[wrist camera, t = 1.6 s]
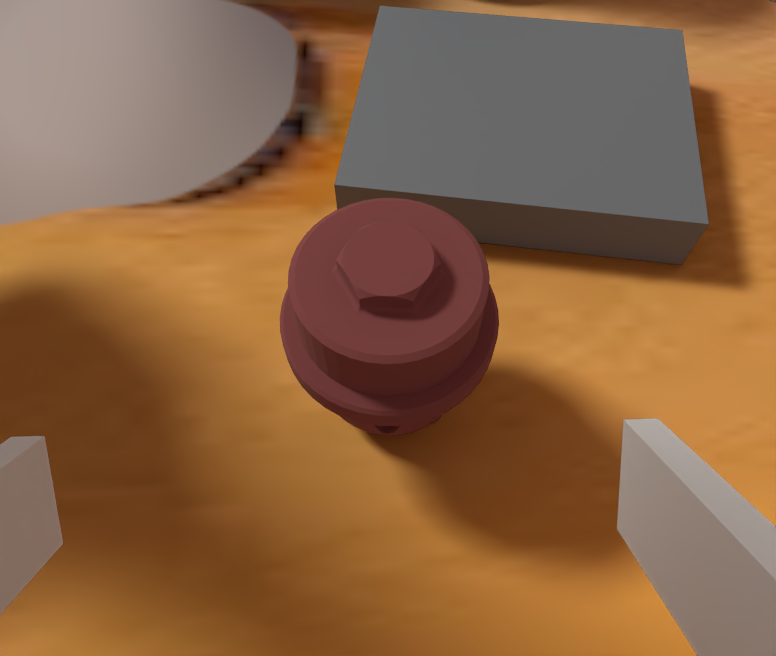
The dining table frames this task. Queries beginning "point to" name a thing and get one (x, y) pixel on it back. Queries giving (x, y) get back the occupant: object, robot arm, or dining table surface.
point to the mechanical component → (389, 314)
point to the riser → (531, 131)
